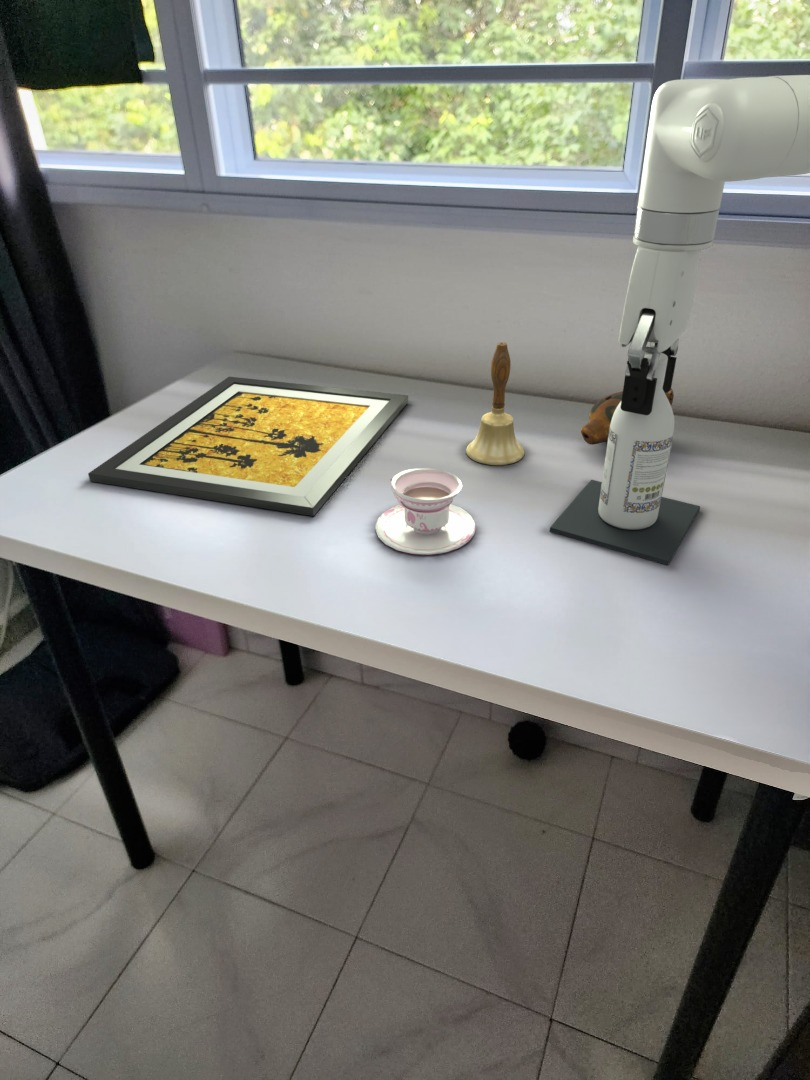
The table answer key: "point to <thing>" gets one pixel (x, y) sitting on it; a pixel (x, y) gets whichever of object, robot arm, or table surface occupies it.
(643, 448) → the bath foam
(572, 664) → the table surface
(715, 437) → the table surface
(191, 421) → the picture frame
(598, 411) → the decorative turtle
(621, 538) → the mat
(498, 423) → the hand bell
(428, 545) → the teacup
